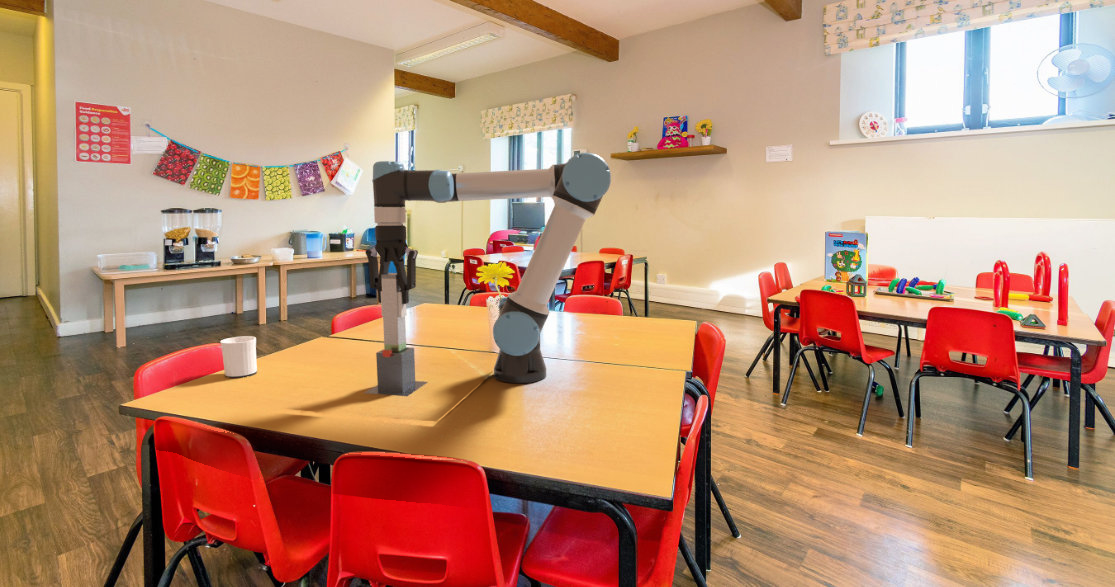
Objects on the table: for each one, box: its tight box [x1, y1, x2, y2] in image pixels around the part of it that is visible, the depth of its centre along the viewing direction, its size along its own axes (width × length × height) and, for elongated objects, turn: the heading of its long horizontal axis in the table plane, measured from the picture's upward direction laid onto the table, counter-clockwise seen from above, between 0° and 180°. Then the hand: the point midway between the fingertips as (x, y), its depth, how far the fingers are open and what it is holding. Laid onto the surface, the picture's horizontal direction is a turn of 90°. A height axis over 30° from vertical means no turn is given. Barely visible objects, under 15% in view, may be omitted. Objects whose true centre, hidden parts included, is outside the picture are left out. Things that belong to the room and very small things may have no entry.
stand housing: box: [364, 346, 429, 397], centre depth 142 cm, size 12×12×12 cm
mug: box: [219, 335, 258, 379], centre depth 157 cm, size 11×9×10 cm
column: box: [381, 272, 407, 353], centre depth 140 cm, size 4×4×23 cm
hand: (394, 315), depth 140 cm, fingers closed on column, 4 cm apart
